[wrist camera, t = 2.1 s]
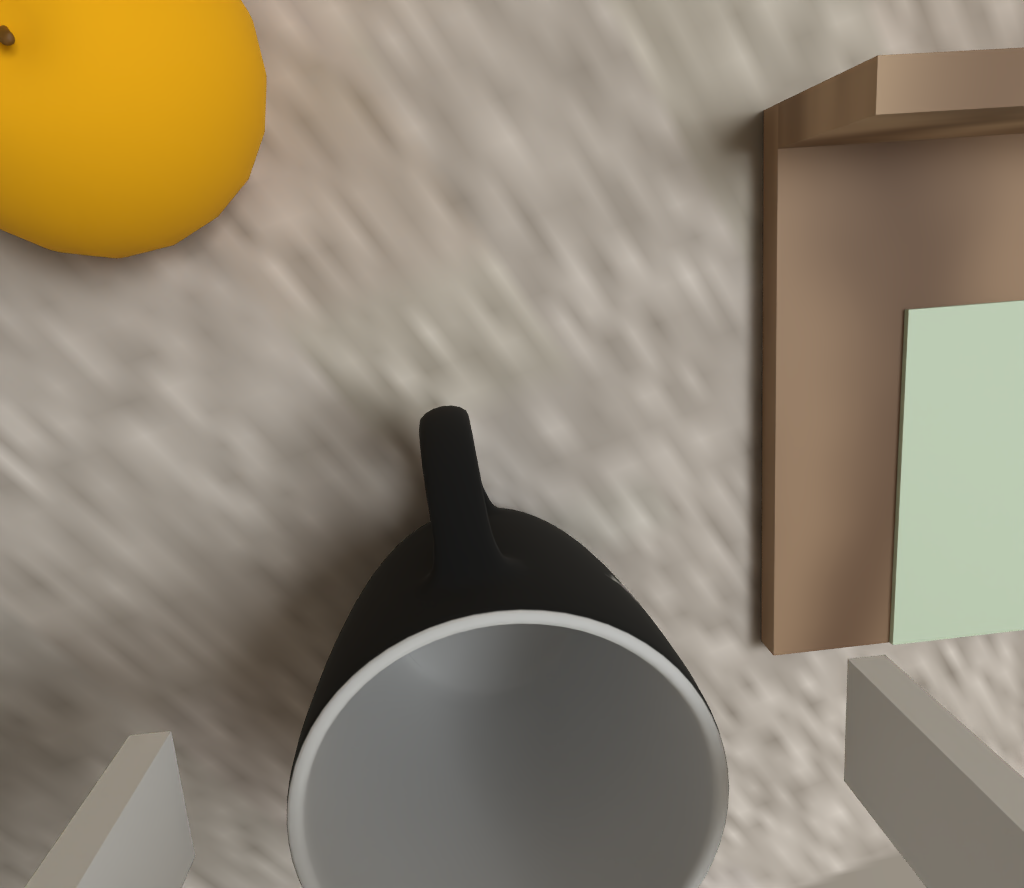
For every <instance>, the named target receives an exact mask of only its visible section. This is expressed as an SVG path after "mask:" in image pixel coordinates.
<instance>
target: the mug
mask: <svg viewBox="0 0 1024 888" xmlns="http://www.w3.org/2000/svg"><path fill="white" fill-rule="evenodd" d="M419 438H420V449H421V459H422V467H423V474H424V481H425V488H426V495H427V501H428V507H429V514H430V520H431V522H429V523H427V524H426V525H424V526H422V527H420V528H419V529H418V530H416V531H415V532H413V533H412V534H411V535H409V536H408V537H407V538H406V539H405V540H404V541H402V542H401V543H400V544H399V545H398V546H397V547H396V548H395V549H394V550H393V551H392V552H391V553H390V554H389V555H388V557H387V558H386V559H385V560H384V561H383V563H382V564H381V565H380V566H379V568H378V569H377V570H376V572H375V573H374V574H373V576H372V577H371V579H370V580H369V582H368V584H367V585H366V587H365V588H364V590H363V591H362V593H361V595H360V596H359V598H358V600H357V601H356V603H355V605H354V607H353V609H352V610H351V612H350V614H349V616H348V618H347V620H346V622H345V624H344V626H343V628H342V630H341V633H340V635H339V637H338V639H337V641H336V643H335V645H334V647H333V649H332V652H331V654H330V656H329V658H328V661H327V663H326V666H325V668H324V671H323V673H322V676H321V678H320V681H319V683H318V686H317V689H316V691H315V694H314V697H313V700H312V702H311V705H310V708H309V711H308V713H307V716H306V719H305V722H304V725H303V728H302V731H301V735H300V738H299V742H298V746H297V750H296V754H295V758H294V762H293V766H292V770H291V775H290V781H289V789H288V796H287V831H288V841H289V847H290V851H291V856H292V860H293V864H294V867H295V870H296V873H297V876H298V878H299V881H300V883H301V885H302V887H303V888H699V886H700V884H701V883H702V881H703V880H704V878H705V876H706V874H707V872H708V870H709V868H710V866H711V864H712V862H713V860H714V857H715V855H716V852H717V850H718V847H719V844H720V841H721V838H722V834H723V830H724V826H725V822H726V815H727V809H728V795H729V781H728V768H727V762H726V756H725V751H724V747H723V744H722V740H721V737H720V733H719V730H718V727H717V724H716V722H715V720H714V717H713V715H712V713H711V710H710V708H709V706H708V704H707V702H706V701H705V699H704V697H703V695H702V693H701V692H700V690H699V688H698V686H697V684H696V683H695V681H694V679H693V677H692V676H691V674H690V672H689V671H688V669H687V668H686V666H685V665H684V663H683V662H682V660H681V659H680V658H679V656H678V655H677V653H676V652H675V650H674V649H673V648H672V646H671V645H670V643H669V642H668V641H667V639H666V638H665V636H664V635H663V634H662V632H661V631H660V630H659V628H658V627H657V626H656V624H655V623H654V622H653V620H652V619H651V618H650V616H649V615H648V614H647V613H646V611H645V610H644V609H643V608H642V607H641V605H640V604H639V603H638V602H637V601H636V599H635V598H634V597H633V596H632V595H631V594H630V593H629V591H628V590H627V589H626V588H625V587H624V586H623V585H622V584H621V583H620V581H619V580H618V579H617V578H616V577H615V576H614V575H613V574H612V573H611V572H610V570H609V569H608V568H607V567H606V566H605V565H604V564H603V563H601V562H600V561H599V560H598V559H597V558H596V557H595V556H594V555H593V554H592V553H591V552H589V551H588V550H587V549H586V548H585V547H584V546H583V545H581V544H580V543H579V542H578V541H576V540H575V539H573V538H572V537H571V536H569V535H568V534H567V533H565V532H564V531H562V530H560V529H559V528H557V527H555V526H554V525H552V524H550V523H548V522H546V521H544V520H542V519H540V518H537V517H535V516H532V515H530V514H527V513H524V512H520V511H516V510H511V509H504V508H497V507H495V506H494V505H493V504H492V502H491V501H490V500H489V498H488V496H487V494H486V492H485V490H484V488H483V485H482V482H481V477H480V472H479V467H478V461H477V456H476V451H475V446H474V440H473V435H472V430H471V425H470V420H469V416H468V414H467V412H466V410H464V409H462V408H461V407H456V406H442V407H438V408H435V409H432V410H431V411H429V412H427V413H426V414H425V415H424V416H423V417H422V418H421V420H420V427H419Z"/></svg>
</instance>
